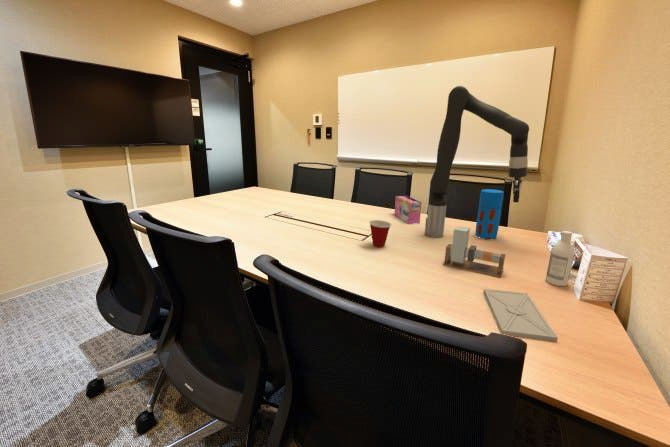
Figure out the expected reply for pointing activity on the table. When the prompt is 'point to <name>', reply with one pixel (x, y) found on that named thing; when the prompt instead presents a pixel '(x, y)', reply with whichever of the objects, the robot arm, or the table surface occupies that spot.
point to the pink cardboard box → (407, 209)
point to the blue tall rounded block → (489, 213)
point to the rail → (476, 266)
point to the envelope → (518, 315)
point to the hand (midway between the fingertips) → (516, 200)
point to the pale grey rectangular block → (459, 243)
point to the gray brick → (471, 253)
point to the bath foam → (561, 261)
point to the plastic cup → (379, 232)
